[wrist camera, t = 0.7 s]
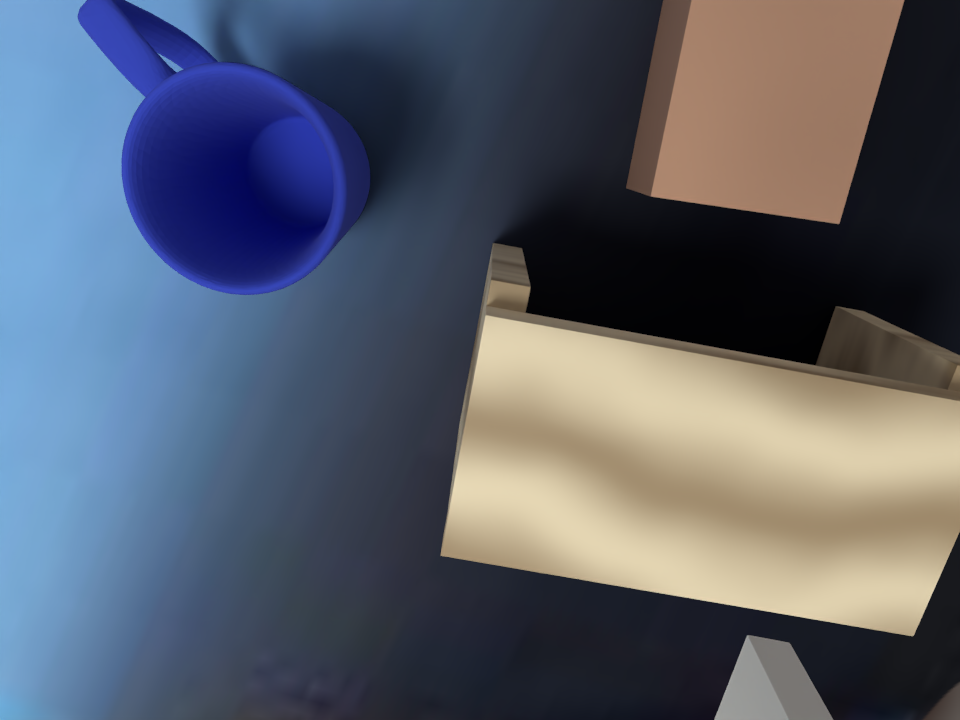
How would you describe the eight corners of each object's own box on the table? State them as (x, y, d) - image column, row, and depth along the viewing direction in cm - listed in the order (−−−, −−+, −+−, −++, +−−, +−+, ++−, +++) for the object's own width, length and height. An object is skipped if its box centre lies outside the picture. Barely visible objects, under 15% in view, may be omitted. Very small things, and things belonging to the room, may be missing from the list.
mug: (253, -25, 32) (149, -96, 23) (421, 186, 35) (392, 202, 25) (132, 94, 34) (-12, 75, 24) (301, 286, 36) (231, 338, 27)
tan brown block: (679, -86, 31) (720, -138, 25) (854, -59, 31) (934, -104, 26) (625, 187, 35) (650, 196, 29) (782, 210, 35) (839, 224, 29)
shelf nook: (492, 242, 35) (490, 287, 24) (863, 311, 36) (1024, 385, 25) (456, 438, 39) (440, 555, 28) (797, 498, 39) (913, 636, 28)
